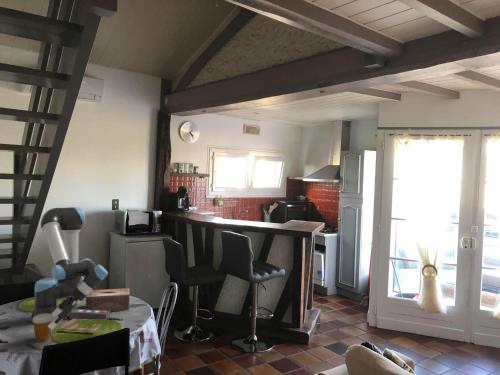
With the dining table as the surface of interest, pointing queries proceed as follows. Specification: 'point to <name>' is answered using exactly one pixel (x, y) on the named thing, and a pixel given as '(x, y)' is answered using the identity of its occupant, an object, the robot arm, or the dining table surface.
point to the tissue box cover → (108, 300)
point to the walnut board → (74, 326)
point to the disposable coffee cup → (42, 326)
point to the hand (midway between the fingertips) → (49, 323)
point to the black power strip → (91, 314)
